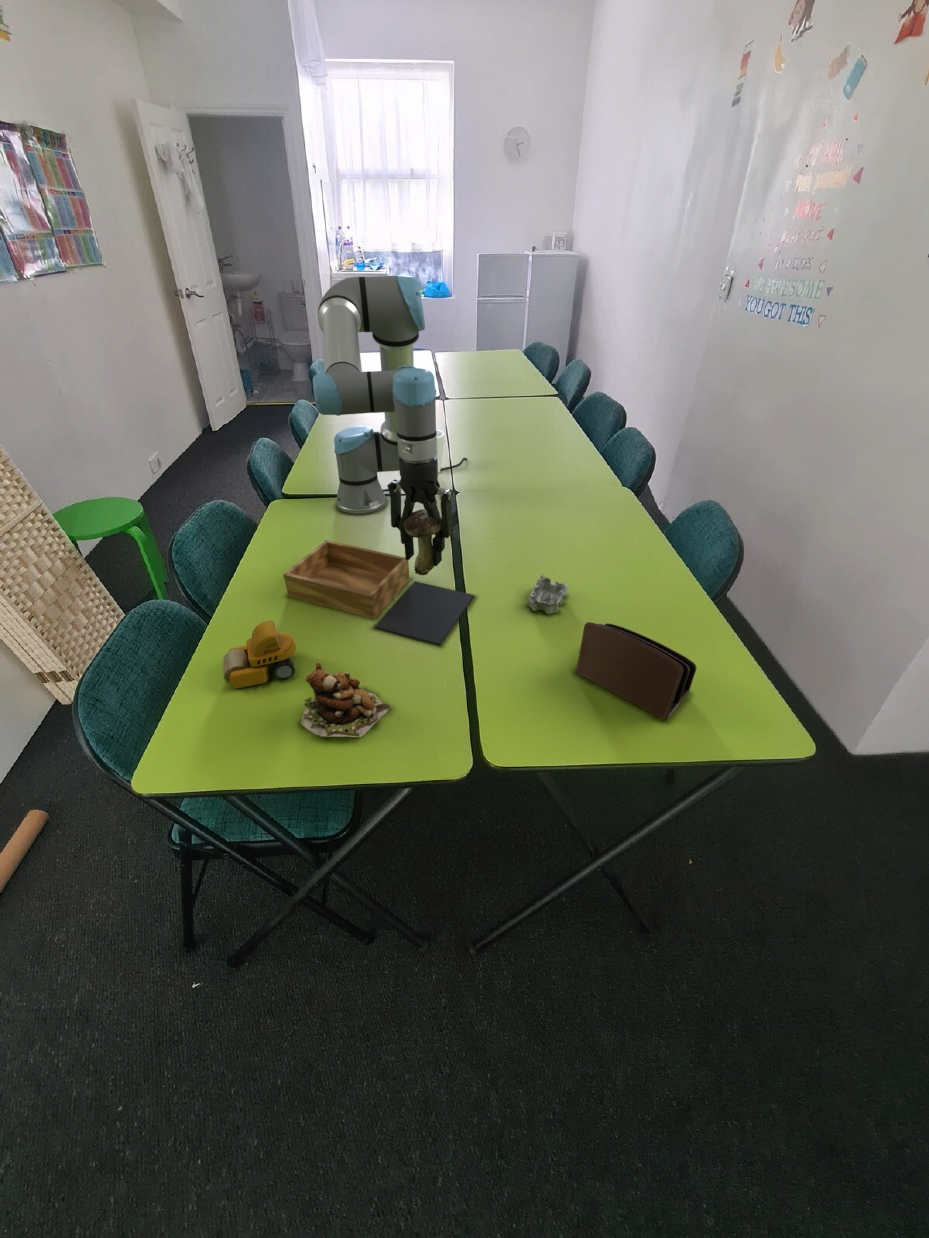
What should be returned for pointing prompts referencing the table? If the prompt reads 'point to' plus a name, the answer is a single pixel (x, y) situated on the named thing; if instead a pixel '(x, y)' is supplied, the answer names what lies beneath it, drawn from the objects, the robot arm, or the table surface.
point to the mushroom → (423, 538)
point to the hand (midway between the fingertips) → (423, 559)
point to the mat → (425, 613)
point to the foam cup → (440, 447)
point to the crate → (348, 578)
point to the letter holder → (635, 668)
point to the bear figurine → (340, 706)
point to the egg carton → (547, 595)
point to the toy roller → (260, 657)
